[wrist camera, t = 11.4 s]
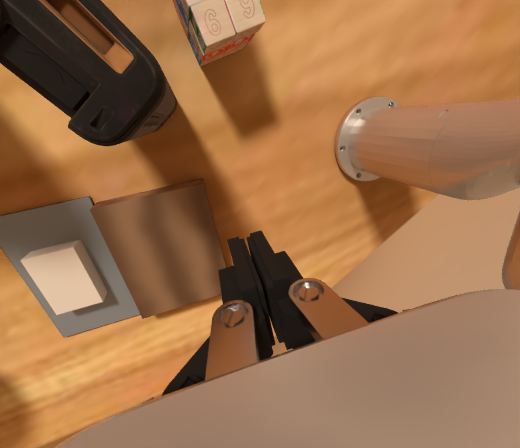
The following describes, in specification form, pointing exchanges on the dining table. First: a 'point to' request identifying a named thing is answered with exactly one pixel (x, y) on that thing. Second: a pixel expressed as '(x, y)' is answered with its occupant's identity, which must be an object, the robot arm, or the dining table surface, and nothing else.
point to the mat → (58, 232)
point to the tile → (65, 276)
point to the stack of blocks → (219, 25)
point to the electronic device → (86, 67)
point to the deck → (163, 245)
